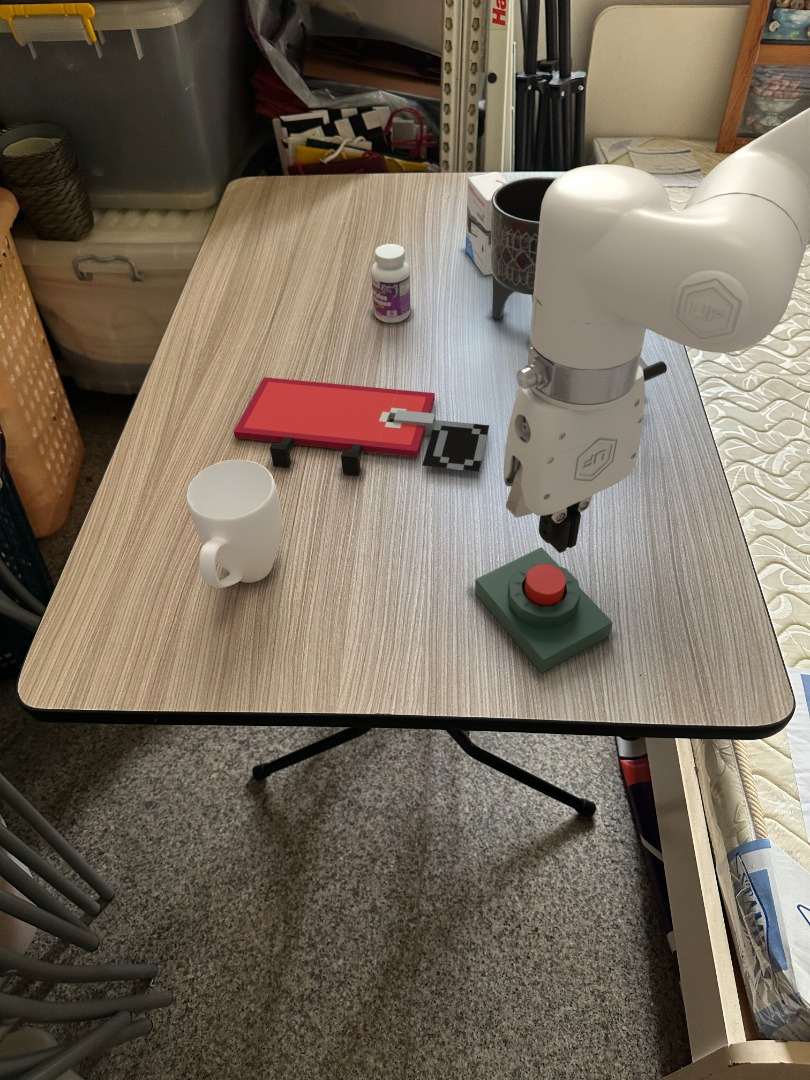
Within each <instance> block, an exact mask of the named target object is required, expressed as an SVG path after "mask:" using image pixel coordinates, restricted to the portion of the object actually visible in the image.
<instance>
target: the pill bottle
mask: <svg viewBox="0 0 810 1080" xmlns="http://www.w3.org/2000/svg"><path fill="white" fill-rule="evenodd" d="M405 260H406V255H405V248H404V247H403V246H401V245H399V244H395V243H385V244H382V245H379V246H378V247H376V249H375V251H374V261H375V262H374V263H373V265H372V266H371V270H370V276H371V290H372V291H371V292H372V307H373V314H374V317H375V318H376V319H378V320H379V321H380V322H383V323H387V324H395V323H396V324H397V323H400V322H402V321H404V320H406V319H408V317H409V316H410V314H411V270H410V266H409V264H408V262H406V261H405Z"/></svg>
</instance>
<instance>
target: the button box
mask: <svg viewBox="0 0 810 1080" xmlns="http://www.w3.org/2000/svg"><path fill="white" fill-rule="evenodd" d="M541 564H547V565H552V566H554V567H556V568H558V569H559V570H561V571H562V573H563V574H564V576H565V579H566V583H565V588H564V594H563V597H562V599H561V600H560V601H559V602H558V603H556V604H554V605H550V606H542V605H538V604H535V603H533V602H532V601H531V600H530V599H529V598H528V597H527V595H526V593H525V583H526V576H527V573H528V571H529V570H530V569H531V568H533V567H534V566H537V565H541ZM474 582H475V585H474V594H475V595H476V596H477V597H478V599H479V600H480V601H481V602H482V604H483V605H484V606H485V607H486V608H487V610H488V611H489V612H490V613H491V614H492V616H493V617H494V618H495V619H496V620H497V622H498V623H499V624H500V625H501V627H502V628H503V629H504V630H505V632H506V633H507V634H508V635H509V636H510V637H511V639H512V640H513V641H514V643H516V645H517V646H518V647H519V649H521V651H522V652H523V653H524V655H525V657H527V658H528V659H529V661H530V663H532V664H533V666H534V667H535V668H536V669H537V671H539V673H540V674H543V673H545V672H547V671H548V670H550V669H552V668H554V667H556V666H557V665H559V664H561V663H563V662H565V661H566V660H568V659H570V658H572V657H574V656H575V655H578V654H579V653H581V652H583V651H585V650H587V649H588V648H590V647H592V646H594V645H595V644H597V643H599V642H602V641H603V640H605V639H606V638H608V637H610V635H611V631H612V627H613V624H614V622H613V621H612V620H611V619H610V617H608V616H607V615H606V613H605V612H604V611H603V610H602V609H601V608H600V607H599V606H598V605H597V604H596V603H595V602H594V601H593V600H592V599H591V598H590V596H589V595H588V594H587V593H586V592H585V591H583V589H582V588H581V587H580V584H579V581H578V579H577V578H576V577H575V576H574V575H573V574H572V573H571V572H570V571H569V570H568V569H567V568H566V567H563V566H561V565H559V564H558V563H557V562H556V560H554V559H553V558H552V556H551V555H550V554H549V553H548V552H547V551H546V550H545V549H544V548H543V547H538V548H537V549H535V550H532V551H531V552H528V553H526V554H524V555H522V556H521V557H518V558H516V559H514V560H512V561H509V562H508V563H506V564H504V565H502V566H499V567H498V568H496V569H493V570H492V571H489V572H487V573H486V574H484V575H481V576H480V577H477V578H476V579H475V581H474Z"/></svg>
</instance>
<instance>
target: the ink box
mask: <svg viewBox="0 0 810 1080" xmlns="http://www.w3.org/2000/svg"><path fill="white" fill-rule="evenodd" d="M506 183H509V182H508V181H507V180H506V178H505V177H504V176H503V175H502V173H500V172H499V171H492V172H488V173H483V174H477V175H472V176H468V177H467V189H466V190H467V191H466V193H467V194H466V221H465V222H466V223H465V225H466V226H465V252H466V253H467V254H468V255H469V257H470V258H471V260H472V261H473V263H474V264H475V265H476V266H477V268H478V269H479V270H480V272H481V273H482V274H483V276H489V275H493V273H492V269H491V200H492V196H493V194H494V192H495V191H496V190H497V189H498V188H500V187H501V186H503V185H504V184H506Z"/></svg>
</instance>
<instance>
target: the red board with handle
mask: <svg viewBox="0 0 810 1080" xmlns="http://www.w3.org/2000/svg"><path fill="white" fill-rule="evenodd" d="M435 400H436V393H435V392H429V391H417V390H407V389H395V388H384V387H375V386H373V387H372V386H363V385H353V384H341V383H331V382H320V381H310V380H296V379H286V378H276V377H266V376H265V377H263V378H262V379H261V382H260V383H259V385H258V387H257V389H256V390H255V392H254V394H253V396H252V397H251V399H250V401H249V402H248V405H247V407H246V408H245V409H244V412H243V414H242V415H241V417H240V419H239V420H238V422H237V424H236V426H235V428H234V430H233V436H234V438H235V439H244V440H252V441H264V442H271V444H270V446H269V452H270V457H271V461H272V466H273V467H275V468H284V469H290V466H291V464H292V460H291V454H290V450H291V449H292V447H293V446H294V445H299V446H308V447H309V446H310V447H317V448H327V449H335V450H336V449H338V450H342V451H341V454H340V461H341V468H342V475H347V476H355V477H360V475H361V472H362V468H361V459H360V458H361V455H362V454H363V453H364V452H365V453H372V454H373V453H375V454H382V455H392V456H403V457H409V458H410V457H411V458H418V457H419V454H420V451H421V447H422V443H423V440H424V437H425V436H430V437H429V441H428V444H427V448H426V449H425V454H424V458H423V460H422V464H421V466H423V467H431V468H440V469H448V470H449V469H450V470H457V471H458V470H459V471H467V472H476V473H479V472H480V471H481V467H482V462H483V457H484V452H485V448H486V443H487V437H488V434H489V429H490V425H489V424H482V423H481V424H479V423H470V422H461V421H451V420H440V419H436V413H434V412H433V413H432V410H433V407H434V403H435ZM391 420H393V421H392V422H391Z"/></svg>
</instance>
